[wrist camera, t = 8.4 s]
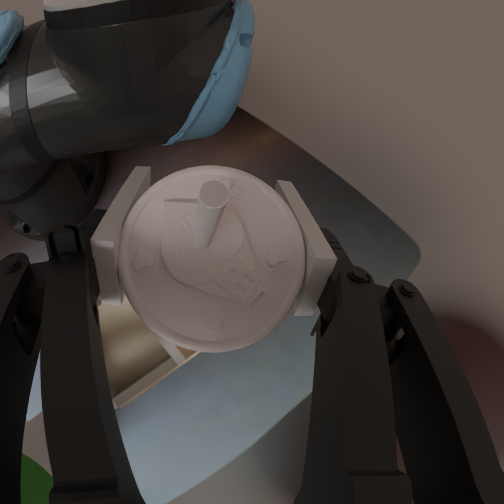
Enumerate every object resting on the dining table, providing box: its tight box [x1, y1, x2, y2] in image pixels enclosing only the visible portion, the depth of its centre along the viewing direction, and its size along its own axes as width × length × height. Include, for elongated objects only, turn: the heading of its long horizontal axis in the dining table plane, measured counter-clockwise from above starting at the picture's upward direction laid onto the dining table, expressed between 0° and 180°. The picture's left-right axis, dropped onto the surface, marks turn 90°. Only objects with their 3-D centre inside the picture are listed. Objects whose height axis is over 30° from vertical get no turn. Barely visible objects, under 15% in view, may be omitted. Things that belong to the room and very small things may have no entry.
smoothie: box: [118, 165, 305, 353], centre depth 12 cm, size 6×6×14 cm
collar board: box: [96, 294, 200, 410], centre depth 28 cm, size 12×21×4 cm, turn 127°
